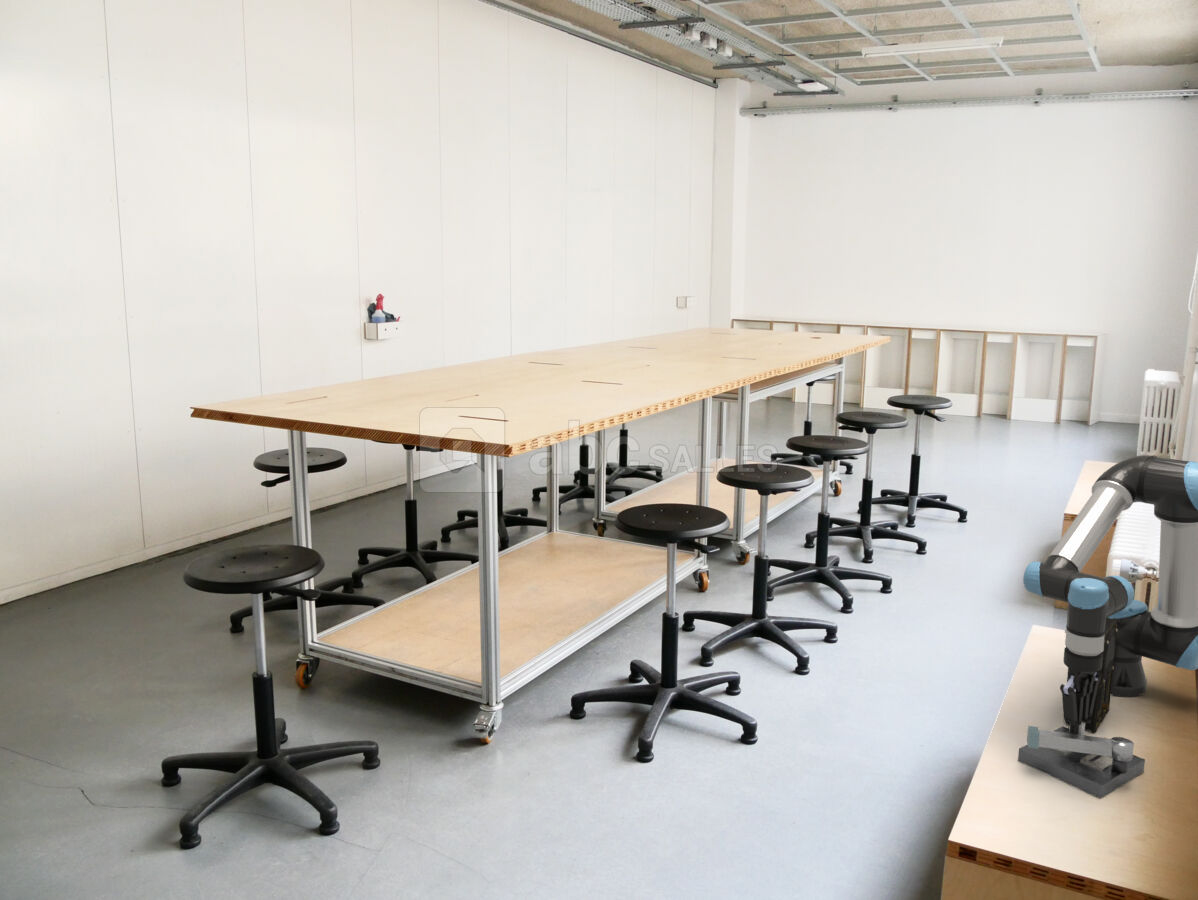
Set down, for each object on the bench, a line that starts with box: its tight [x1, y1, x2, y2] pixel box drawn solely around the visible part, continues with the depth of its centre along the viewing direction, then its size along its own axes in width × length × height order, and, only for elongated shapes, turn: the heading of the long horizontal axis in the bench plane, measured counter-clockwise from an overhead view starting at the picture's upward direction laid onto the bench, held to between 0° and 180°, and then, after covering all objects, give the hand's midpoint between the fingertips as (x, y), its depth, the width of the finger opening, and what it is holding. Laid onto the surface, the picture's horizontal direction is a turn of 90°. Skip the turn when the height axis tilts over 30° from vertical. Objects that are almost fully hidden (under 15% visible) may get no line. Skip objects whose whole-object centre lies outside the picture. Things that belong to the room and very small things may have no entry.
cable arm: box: [1026, 725, 1135, 762], centre depth 208 cm, size 4×21×4 cm, turn 71°
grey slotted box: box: [1017, 725, 1146, 799], centre depth 214 cm, size 18×20×6 cm
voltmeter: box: [1062, 618, 1118, 733], centre depth 233 cm, size 16×9×25 cm, turn 141°
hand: (1075, 748), depth 212 cm, fingers closed
